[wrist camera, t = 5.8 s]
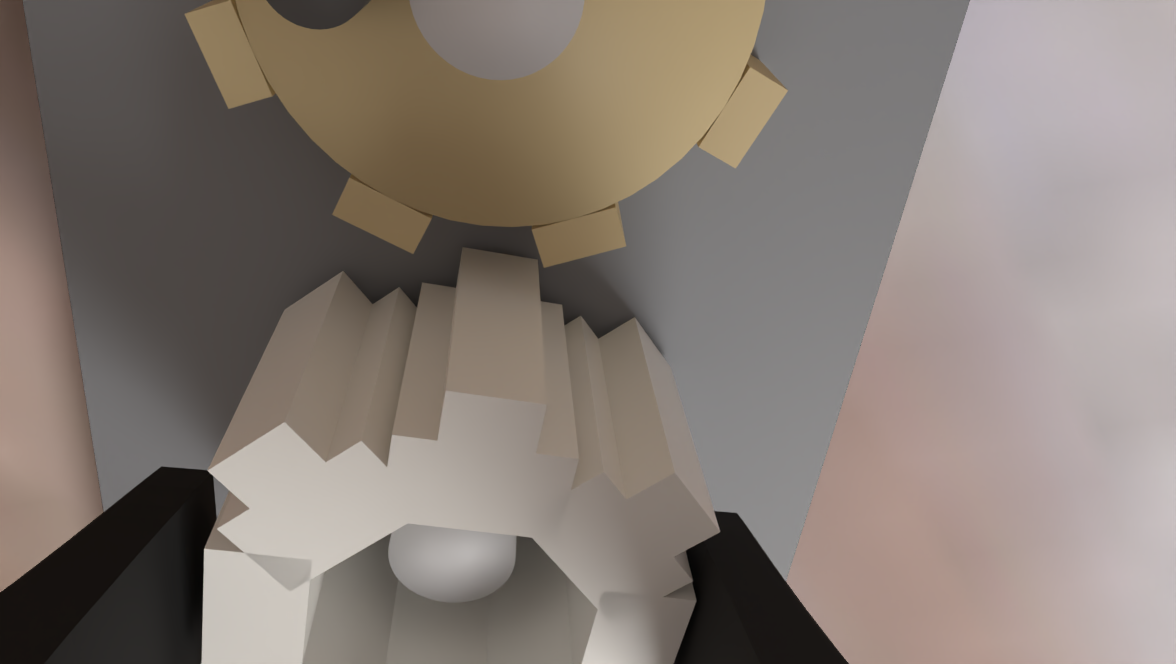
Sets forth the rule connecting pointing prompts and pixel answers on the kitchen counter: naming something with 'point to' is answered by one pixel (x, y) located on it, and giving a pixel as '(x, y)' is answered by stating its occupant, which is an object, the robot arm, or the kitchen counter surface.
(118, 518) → the robot arm
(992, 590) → the kitchen counter surface
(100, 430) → the gear board
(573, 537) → the loose gear
